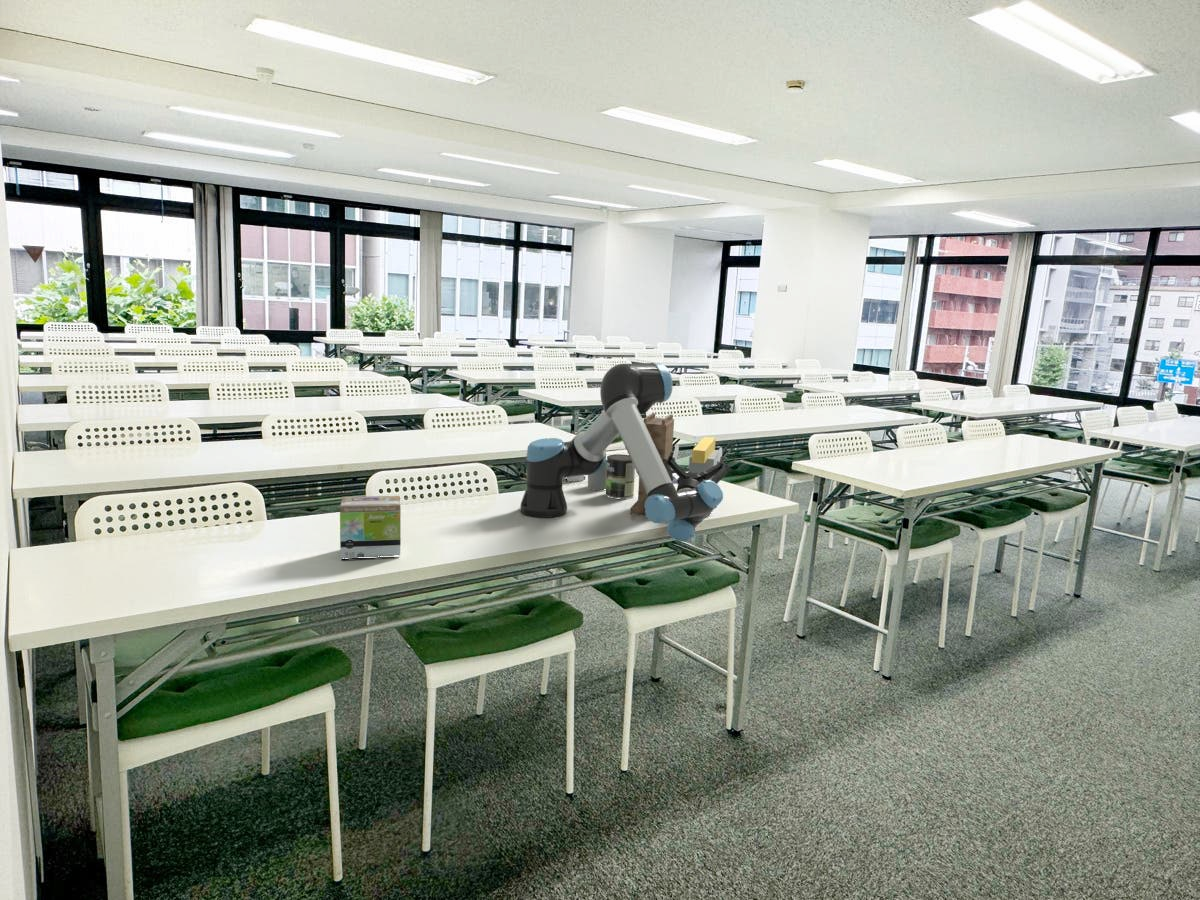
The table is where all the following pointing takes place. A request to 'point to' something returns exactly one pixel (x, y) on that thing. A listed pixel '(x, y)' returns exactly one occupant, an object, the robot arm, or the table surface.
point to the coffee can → (620, 476)
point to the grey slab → (704, 464)
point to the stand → (663, 442)
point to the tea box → (370, 526)
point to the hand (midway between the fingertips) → (699, 448)
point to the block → (703, 450)
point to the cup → (598, 479)
